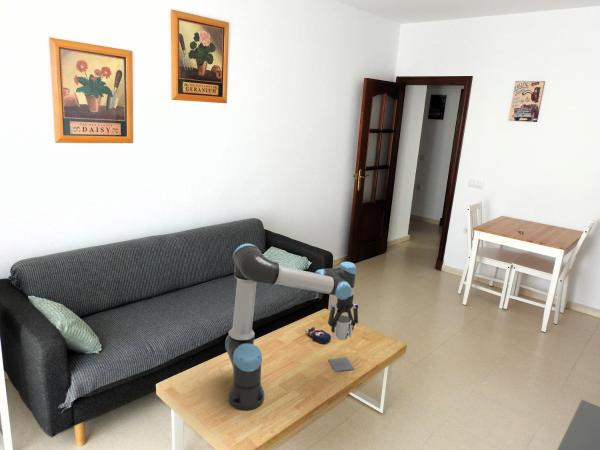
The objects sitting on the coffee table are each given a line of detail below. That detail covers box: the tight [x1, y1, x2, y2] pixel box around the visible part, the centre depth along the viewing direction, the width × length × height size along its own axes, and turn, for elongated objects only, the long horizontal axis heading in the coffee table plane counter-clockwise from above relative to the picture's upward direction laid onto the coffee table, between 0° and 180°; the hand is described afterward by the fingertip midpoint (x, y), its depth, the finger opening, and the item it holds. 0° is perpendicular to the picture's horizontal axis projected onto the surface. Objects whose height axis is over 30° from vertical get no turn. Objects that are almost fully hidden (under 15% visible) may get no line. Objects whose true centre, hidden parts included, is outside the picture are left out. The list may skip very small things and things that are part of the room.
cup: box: [336, 314, 352, 341], centre depth 214 cm, size 8×8×10 cm
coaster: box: [328, 357, 355, 373], centre depth 218 cm, size 10×10×1 cm
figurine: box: [304, 326, 332, 345], centre depth 242 cm, size 9×4×15 cm
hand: (341, 336), depth 215 cm, fingers closed on cup, 8 cm apart
